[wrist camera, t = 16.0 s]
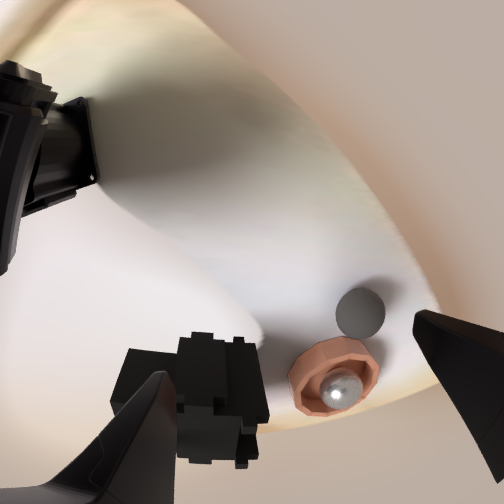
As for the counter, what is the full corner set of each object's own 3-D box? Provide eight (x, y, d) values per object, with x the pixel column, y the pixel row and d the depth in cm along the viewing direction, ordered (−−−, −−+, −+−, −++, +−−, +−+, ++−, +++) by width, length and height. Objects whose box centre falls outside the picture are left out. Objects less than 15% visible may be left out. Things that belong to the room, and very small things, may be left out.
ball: (327, 286, 22) (347, 311, 18) (371, 275, 22) (396, 297, 18) (329, 326, 23) (346, 355, 20) (370, 315, 23) (391, 340, 20)
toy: (266, 527, 11) (113, 516, 10) (245, 391, 25) (141, 384, 23) (291, 492, 9) (73, 473, 8) (255, 328, 22) (131, 319, 21)
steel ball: (311, 367, 24) (330, 397, 20) (351, 353, 24) (372, 379, 20) (313, 394, 25) (329, 423, 21) (349, 381, 26) (367, 406, 22)
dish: (284, 350, 24) (290, 369, 21) (370, 327, 24) (382, 342, 22) (292, 406, 26) (297, 424, 24) (364, 385, 27) (373, 401, 24)
